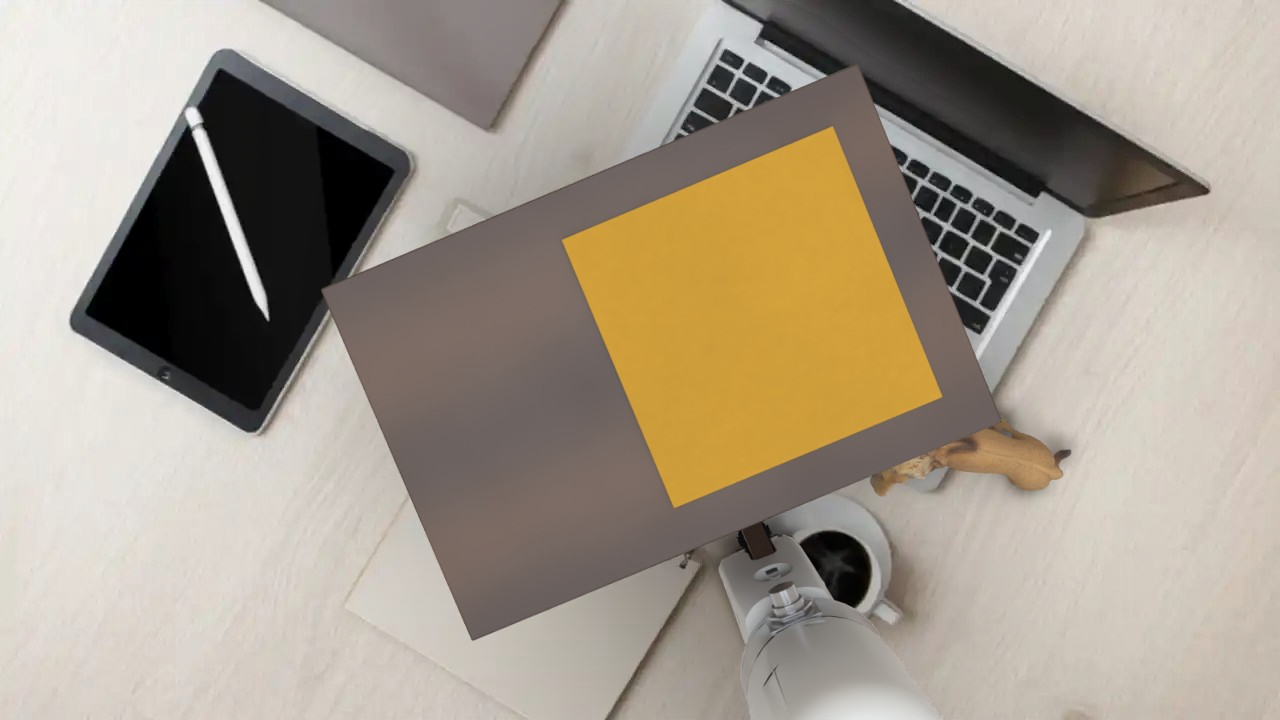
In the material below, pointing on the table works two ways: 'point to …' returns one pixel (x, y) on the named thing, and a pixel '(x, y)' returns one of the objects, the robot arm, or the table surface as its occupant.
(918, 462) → the lion figurine
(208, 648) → the table surface
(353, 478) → the table surface
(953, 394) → the walnut stand
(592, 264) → the felt cloth
